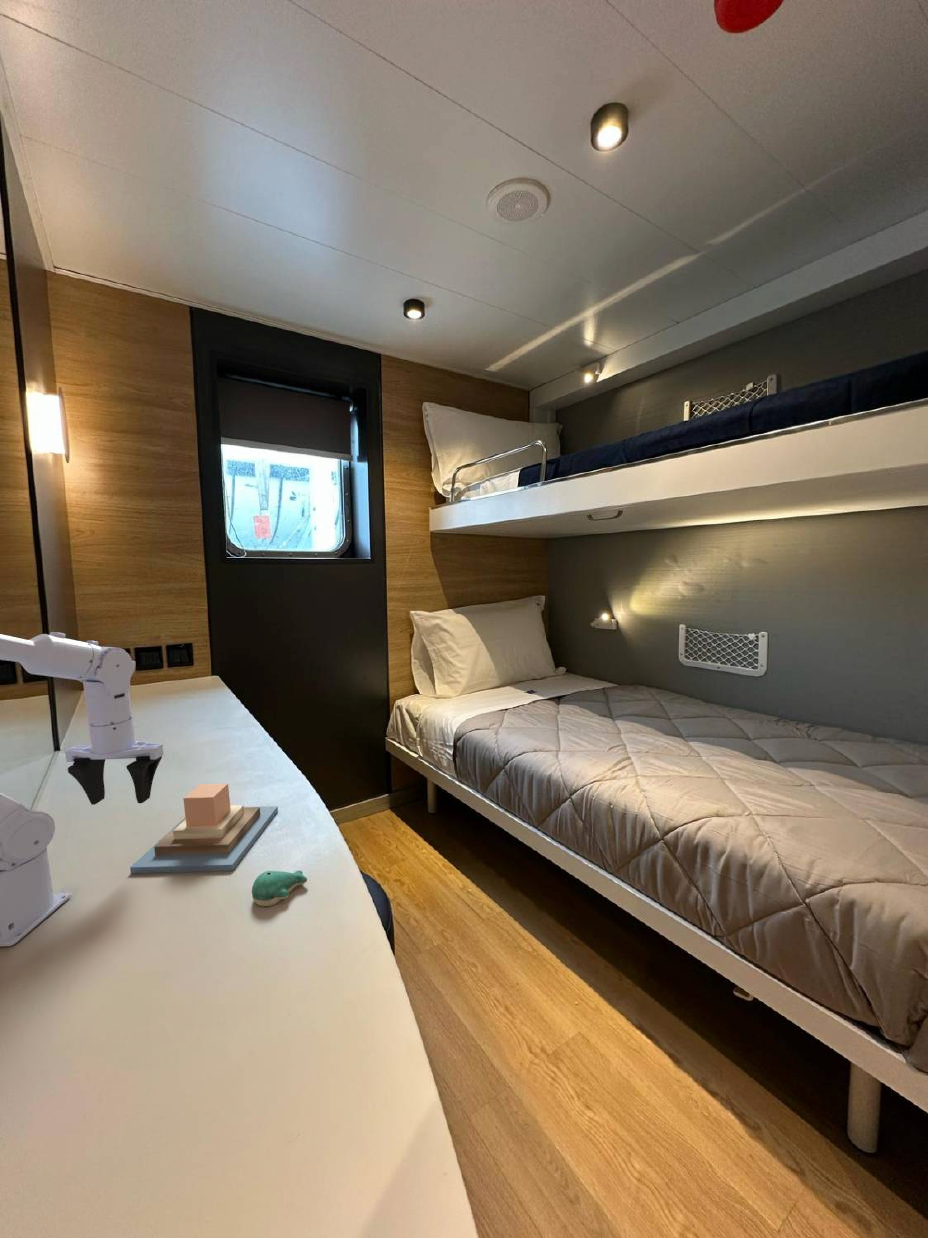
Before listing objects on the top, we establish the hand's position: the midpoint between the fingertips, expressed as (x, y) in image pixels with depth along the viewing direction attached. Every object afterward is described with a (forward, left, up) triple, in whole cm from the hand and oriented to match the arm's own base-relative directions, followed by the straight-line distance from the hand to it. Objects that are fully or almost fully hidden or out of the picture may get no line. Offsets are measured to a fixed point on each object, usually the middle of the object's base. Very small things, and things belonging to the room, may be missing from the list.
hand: (121, 801), depth 80 cm
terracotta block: (+4, -12, -5) cm, 14 cm away
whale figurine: (-10, -29, -10) cm, 33 cm away
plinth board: (+4, -12, -9) cm, 16 cm away
